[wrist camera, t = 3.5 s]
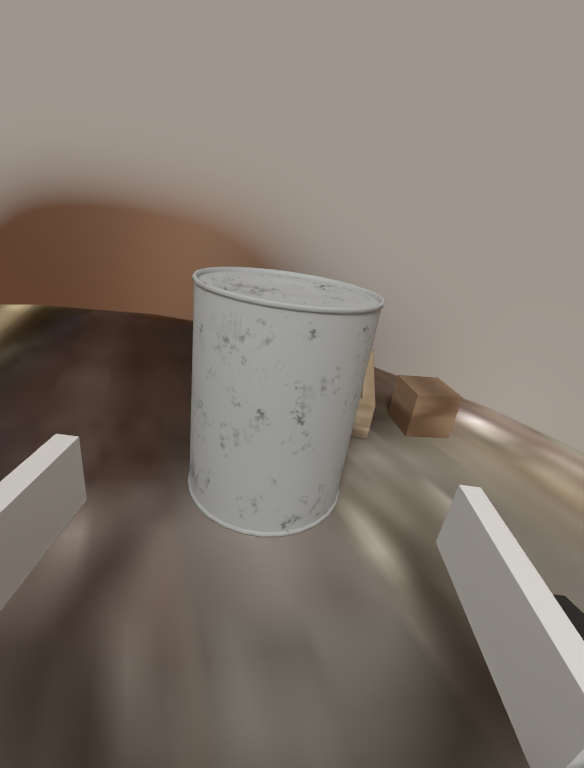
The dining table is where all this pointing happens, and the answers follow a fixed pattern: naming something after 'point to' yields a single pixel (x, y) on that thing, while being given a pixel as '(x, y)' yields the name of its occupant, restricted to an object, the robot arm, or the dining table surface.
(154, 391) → the dining table surface
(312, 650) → the dining table surface
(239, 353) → the speckled tin can
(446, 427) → the walnut block
